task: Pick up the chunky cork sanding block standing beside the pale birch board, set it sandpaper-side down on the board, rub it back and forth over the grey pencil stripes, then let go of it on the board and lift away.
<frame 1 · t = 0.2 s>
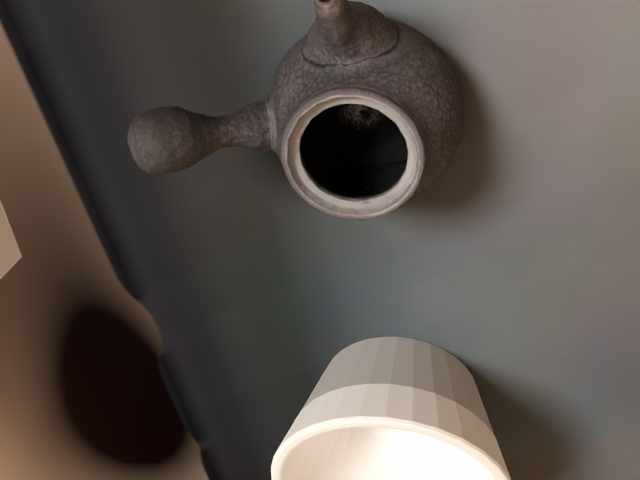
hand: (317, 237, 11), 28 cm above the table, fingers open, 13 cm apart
teapot: (316, 86, 39), on the table
bowl: (399, 388, 55), on the table
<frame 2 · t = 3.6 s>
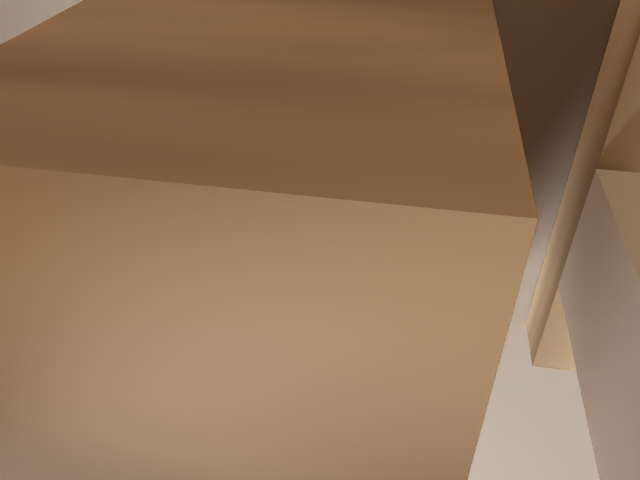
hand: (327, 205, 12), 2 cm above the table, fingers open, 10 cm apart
sanding block: (333, 161, 13), on the table
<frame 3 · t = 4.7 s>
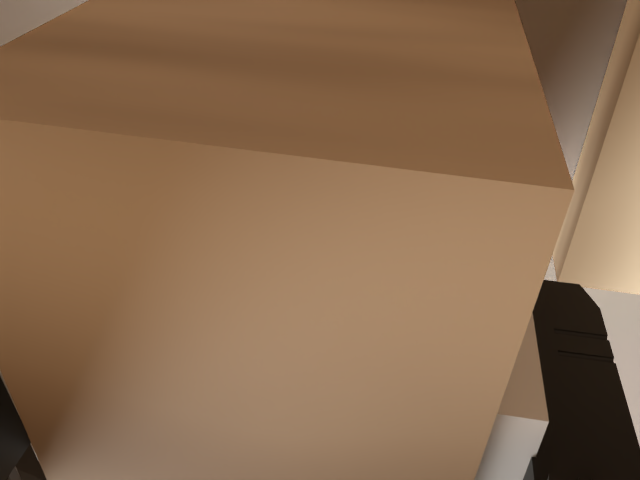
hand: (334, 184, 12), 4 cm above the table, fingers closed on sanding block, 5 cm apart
sanding block: (344, 153, 14), point 2 cm above the table, touching gripper
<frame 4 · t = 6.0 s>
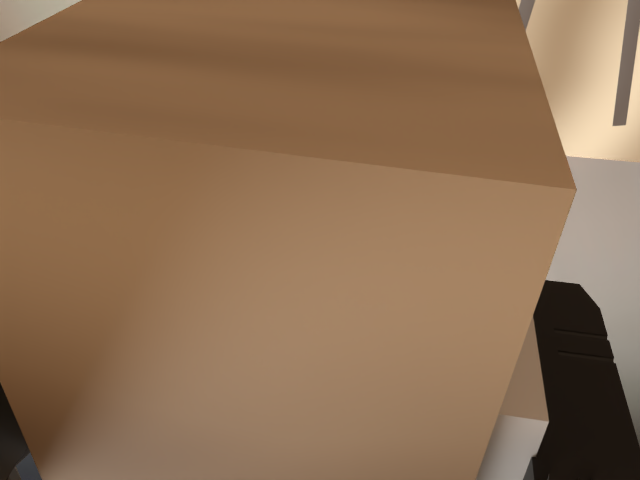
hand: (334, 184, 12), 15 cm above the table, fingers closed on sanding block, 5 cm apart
board: (543, 10, 23), on the table
sanding block: (343, 153, 14), point 13 cm above the table, touching gripper
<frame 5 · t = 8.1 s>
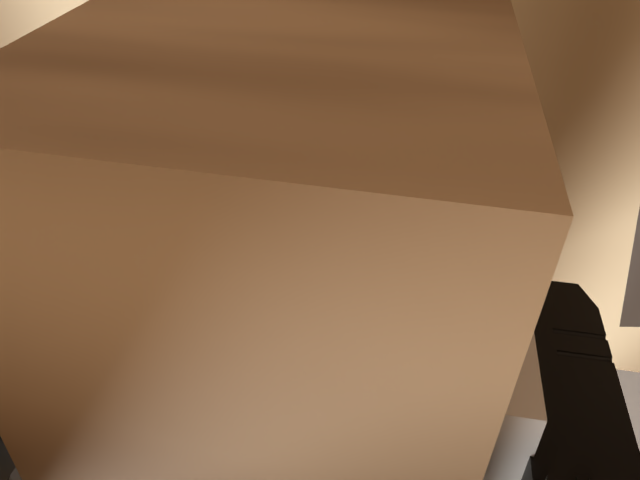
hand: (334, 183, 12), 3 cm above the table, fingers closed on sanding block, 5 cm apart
board: (505, 144, 14), on the table
sanding block: (341, 158, 13), point 2 cm above the table, touching gripper
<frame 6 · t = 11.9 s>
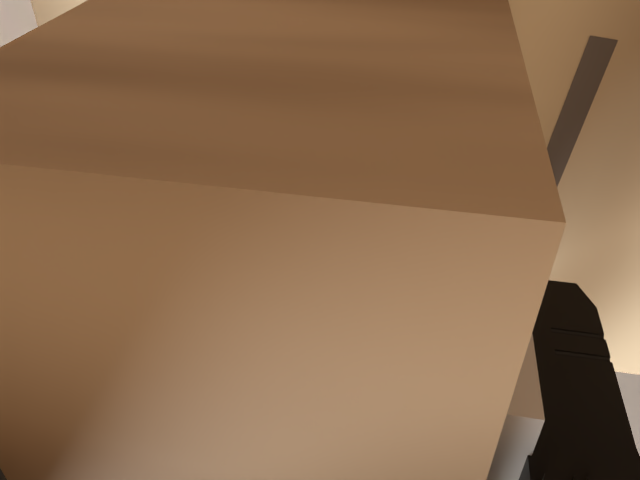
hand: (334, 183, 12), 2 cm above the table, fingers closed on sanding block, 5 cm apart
board: (582, 149, 14), on the table
sanding block: (341, 161, 13), point 2 cm above the table, touching gripper
when the fingers open (3 cm above the table, at t = 16.0 s): sanding block stays where it is, resting on board.
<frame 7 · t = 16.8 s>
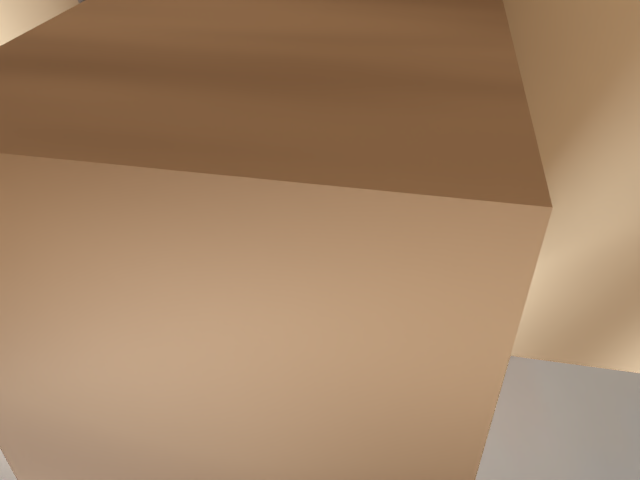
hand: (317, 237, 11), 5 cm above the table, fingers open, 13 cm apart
board: (351, 130, 14), on the table
sanding block: (340, 158, 13), point 2 cm above the table, touching board
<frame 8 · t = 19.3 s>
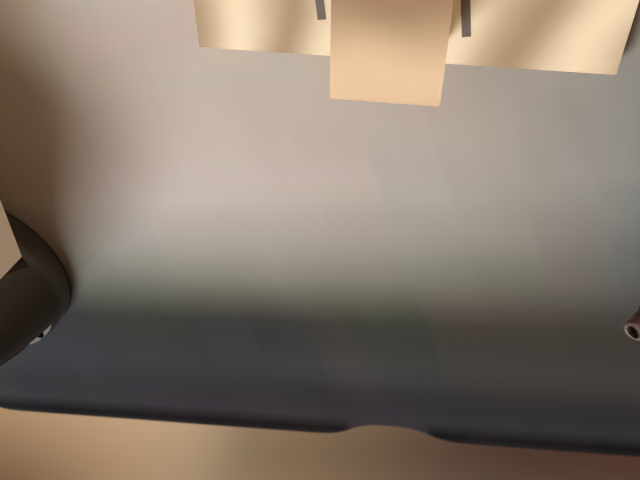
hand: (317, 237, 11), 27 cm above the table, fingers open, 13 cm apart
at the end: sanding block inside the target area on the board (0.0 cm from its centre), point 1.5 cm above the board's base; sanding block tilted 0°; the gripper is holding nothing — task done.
